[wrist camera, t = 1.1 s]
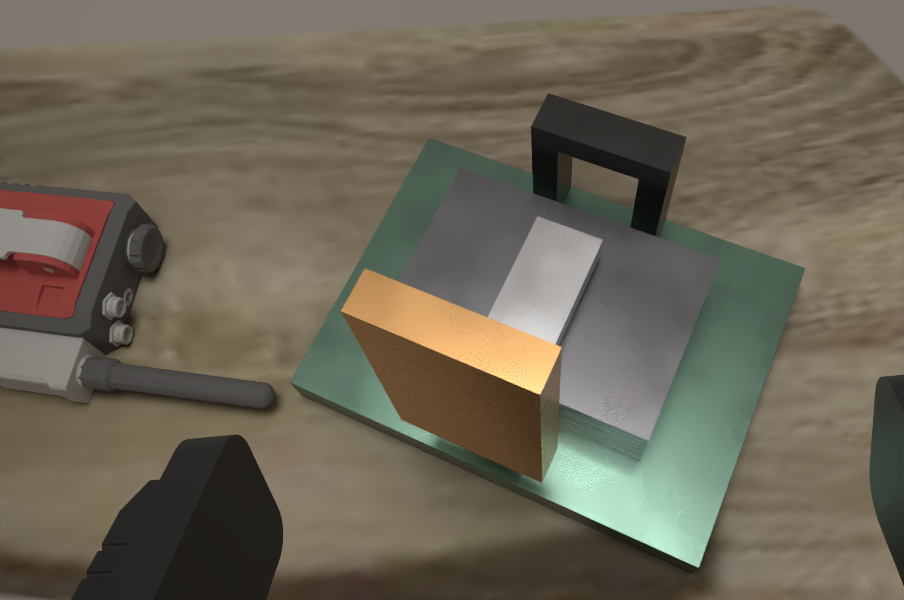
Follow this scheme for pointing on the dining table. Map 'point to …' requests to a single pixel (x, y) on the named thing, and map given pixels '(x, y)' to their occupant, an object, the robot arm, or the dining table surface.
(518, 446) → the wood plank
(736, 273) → the green tiered platform
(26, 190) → the walkie-talkie
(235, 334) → the dining table surface
